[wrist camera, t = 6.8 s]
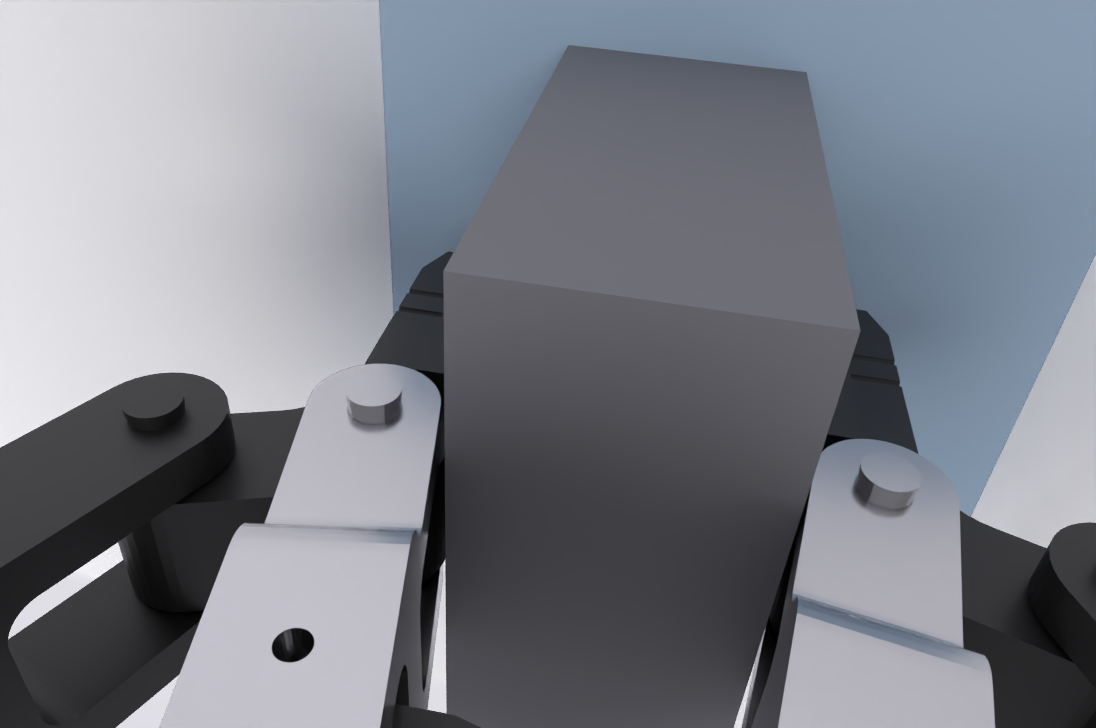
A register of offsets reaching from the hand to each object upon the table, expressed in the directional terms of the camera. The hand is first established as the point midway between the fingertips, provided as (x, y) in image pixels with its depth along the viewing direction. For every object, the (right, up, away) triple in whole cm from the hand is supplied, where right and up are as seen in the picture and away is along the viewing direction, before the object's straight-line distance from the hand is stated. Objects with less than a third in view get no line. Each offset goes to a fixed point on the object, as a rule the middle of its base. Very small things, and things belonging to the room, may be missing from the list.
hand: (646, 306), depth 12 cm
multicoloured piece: (+1, +2, +2) cm, 3 cm away
